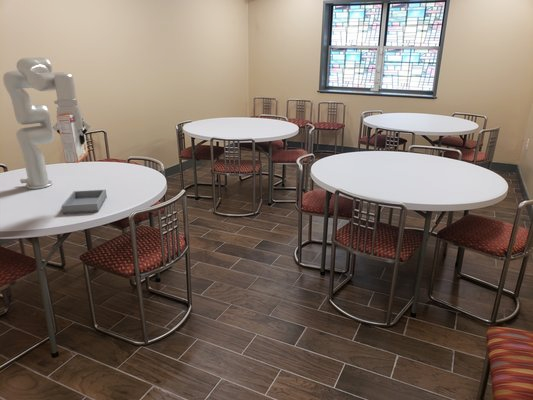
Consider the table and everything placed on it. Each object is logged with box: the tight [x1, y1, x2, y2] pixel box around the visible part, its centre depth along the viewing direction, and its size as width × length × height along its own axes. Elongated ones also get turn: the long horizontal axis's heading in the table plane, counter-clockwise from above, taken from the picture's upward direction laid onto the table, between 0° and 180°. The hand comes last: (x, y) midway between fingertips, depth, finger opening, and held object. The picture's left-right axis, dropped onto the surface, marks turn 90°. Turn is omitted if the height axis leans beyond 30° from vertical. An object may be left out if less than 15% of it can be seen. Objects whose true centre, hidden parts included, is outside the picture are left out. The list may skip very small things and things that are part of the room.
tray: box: [61, 189, 108, 215], centre depth 193 cm, size 15×20×4 cm
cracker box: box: [56, 114, 89, 164], centre depth 182 cm, size 14×6×21 cm, turn 4°
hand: (74, 143), depth 183 cm, fingers closed on cracker box, 6 cm apart
